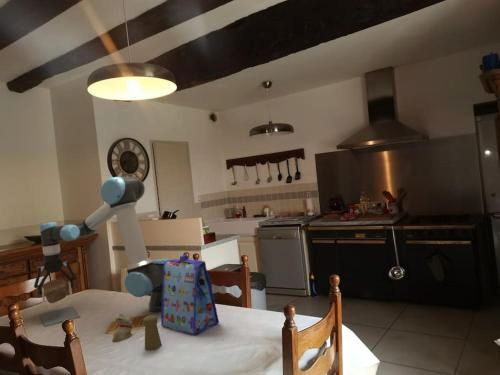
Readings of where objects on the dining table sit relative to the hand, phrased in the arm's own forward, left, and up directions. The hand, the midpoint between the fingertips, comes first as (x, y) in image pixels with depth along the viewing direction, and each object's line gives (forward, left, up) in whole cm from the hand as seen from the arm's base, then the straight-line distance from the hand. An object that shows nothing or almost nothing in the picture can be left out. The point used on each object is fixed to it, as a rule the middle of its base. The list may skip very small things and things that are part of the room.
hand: (57, 297), depth 181 cm
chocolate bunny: (-56, -16, -9) cm, 59 cm away
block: (+11, 0, +4) cm, 12 cm away
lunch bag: (-66, -40, -9) cm, 78 cm away
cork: (-74, -22, -9) cm, 78 cm away
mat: (0, 0, -9) cm, 9 cm away
